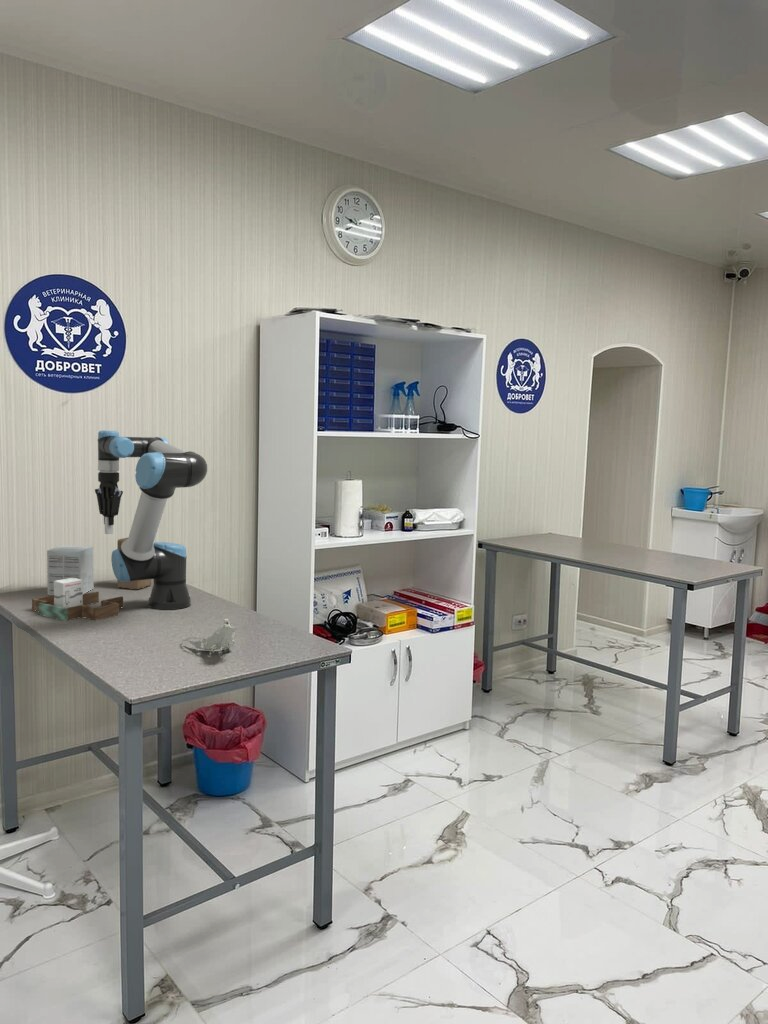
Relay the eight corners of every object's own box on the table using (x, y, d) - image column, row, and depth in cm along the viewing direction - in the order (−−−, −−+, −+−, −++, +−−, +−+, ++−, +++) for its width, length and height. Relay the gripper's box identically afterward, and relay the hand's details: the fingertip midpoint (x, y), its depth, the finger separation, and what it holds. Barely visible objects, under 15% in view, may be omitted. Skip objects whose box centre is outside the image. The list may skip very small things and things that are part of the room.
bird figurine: (230, 638, 249) (251, 598, 231) (236, 665, 244) (258, 625, 227) (180, 642, 241) (197, 601, 224) (184, 670, 237) (203, 630, 219)
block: (116, 588, 316) (116, 539, 314) (131, 583, 326) (131, 536, 324) (138, 590, 313) (138, 541, 311) (152, 586, 323) (152, 537, 321)
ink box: (62, 616, 268) (62, 582, 267) (53, 614, 271) (52, 581, 270) (83, 612, 276) (83, 579, 275) (74, 610, 278) (73, 577, 277)
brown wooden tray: (136, 610, 281) (136, 599, 280) (79, 624, 260) (79, 612, 259) (84, 599, 295) (84, 589, 294) (25, 611, 274) (25, 600, 273)
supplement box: (61, 588, 313) (60, 544, 311) (94, 589, 313) (93, 546, 311) (46, 595, 300) (46, 550, 298) (81, 596, 300) (80, 551, 298)
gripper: (128, 472, 296) (128, 534, 298) (104, 470, 302) (105, 531, 305) (112, 473, 289) (112, 536, 292) (88, 470, 296) (89, 532, 298)
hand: (108, 533), depth 298 cm, fingers closed
